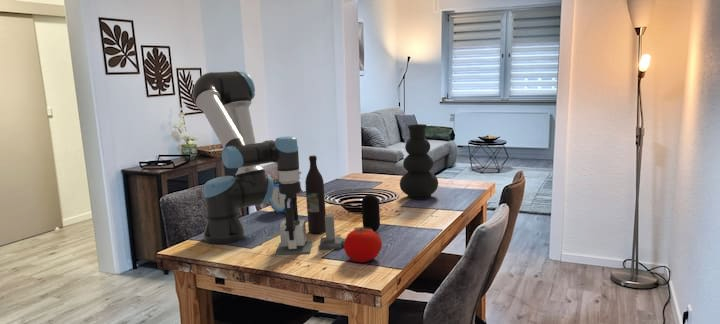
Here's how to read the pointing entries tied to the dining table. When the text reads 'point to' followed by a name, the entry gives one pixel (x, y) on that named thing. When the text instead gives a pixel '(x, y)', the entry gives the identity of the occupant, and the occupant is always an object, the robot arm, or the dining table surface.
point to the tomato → (362, 245)
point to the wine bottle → (315, 199)
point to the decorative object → (371, 212)
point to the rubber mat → (300, 249)
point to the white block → (300, 233)
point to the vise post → (333, 235)
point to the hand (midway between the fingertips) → (294, 244)
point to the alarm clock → (277, 198)
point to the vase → (418, 165)
